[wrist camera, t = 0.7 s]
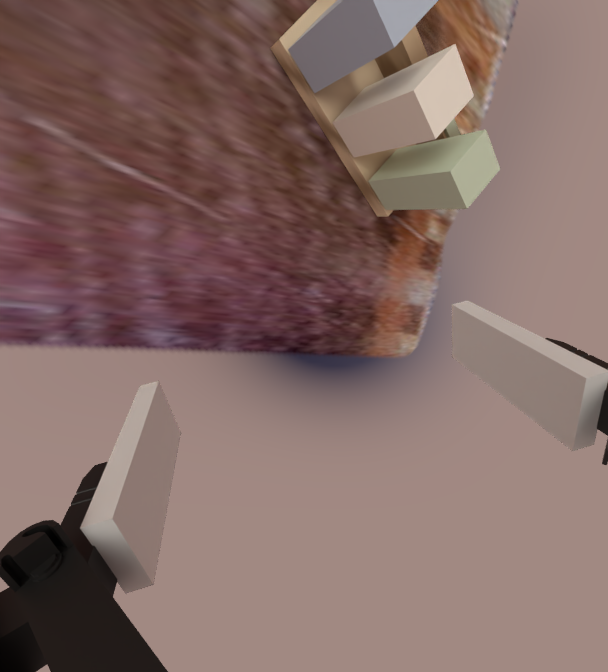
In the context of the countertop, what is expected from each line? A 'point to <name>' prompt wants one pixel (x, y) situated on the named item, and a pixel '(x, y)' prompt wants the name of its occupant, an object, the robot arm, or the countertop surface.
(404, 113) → the cream rectangular block
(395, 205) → the pale green tall block
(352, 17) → the slate key
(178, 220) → the countertop surface
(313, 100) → the wooden key holder base
